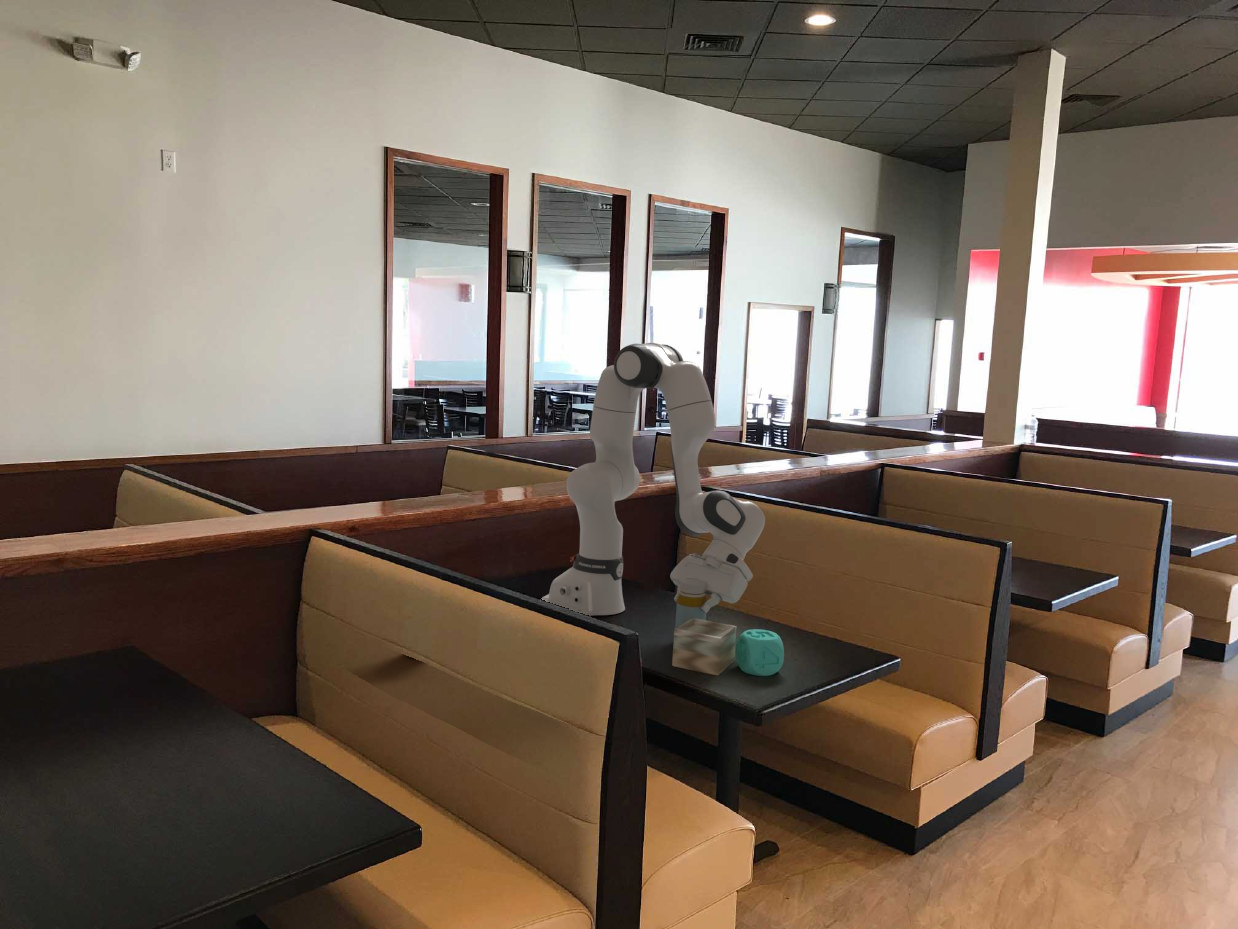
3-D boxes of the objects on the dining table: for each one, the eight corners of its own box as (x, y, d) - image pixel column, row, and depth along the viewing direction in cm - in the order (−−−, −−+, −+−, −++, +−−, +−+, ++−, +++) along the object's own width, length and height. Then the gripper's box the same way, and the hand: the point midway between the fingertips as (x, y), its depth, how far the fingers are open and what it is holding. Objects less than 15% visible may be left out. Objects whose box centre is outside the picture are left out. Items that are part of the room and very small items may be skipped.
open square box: (672, 665, 202) (674, 629, 201) (690, 652, 212) (692, 617, 211) (717, 675, 198) (720, 638, 197) (734, 661, 207) (736, 626, 206)
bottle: (704, 639, 222) (708, 578, 220) (703, 649, 215) (708, 586, 213) (675, 637, 222) (678, 576, 220) (673, 646, 215) (677, 583, 213)
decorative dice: (783, 675, 200) (785, 639, 199) (749, 677, 198) (751, 641, 197) (767, 662, 208) (769, 628, 207) (734, 664, 205) (736, 629, 204)
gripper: (684, 544, 228) (653, 587, 223) (747, 561, 213) (715, 608, 208) (695, 559, 231) (665, 603, 226) (758, 577, 216) (727, 625, 211)
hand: (689, 606), depth 217 cm, fingers closed on bottle, 7 cm apart
